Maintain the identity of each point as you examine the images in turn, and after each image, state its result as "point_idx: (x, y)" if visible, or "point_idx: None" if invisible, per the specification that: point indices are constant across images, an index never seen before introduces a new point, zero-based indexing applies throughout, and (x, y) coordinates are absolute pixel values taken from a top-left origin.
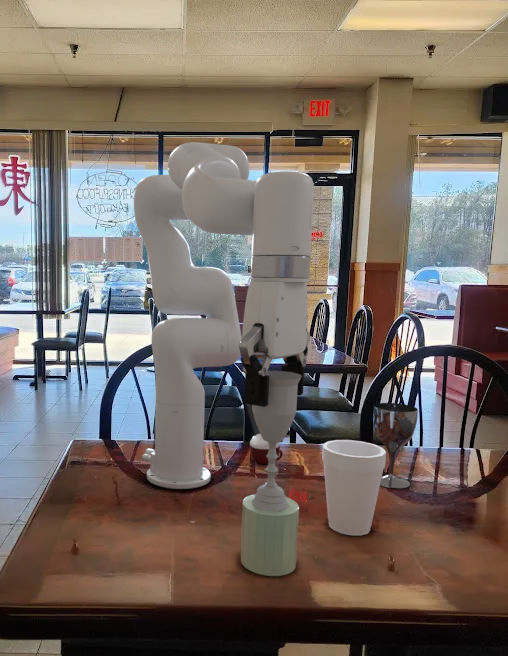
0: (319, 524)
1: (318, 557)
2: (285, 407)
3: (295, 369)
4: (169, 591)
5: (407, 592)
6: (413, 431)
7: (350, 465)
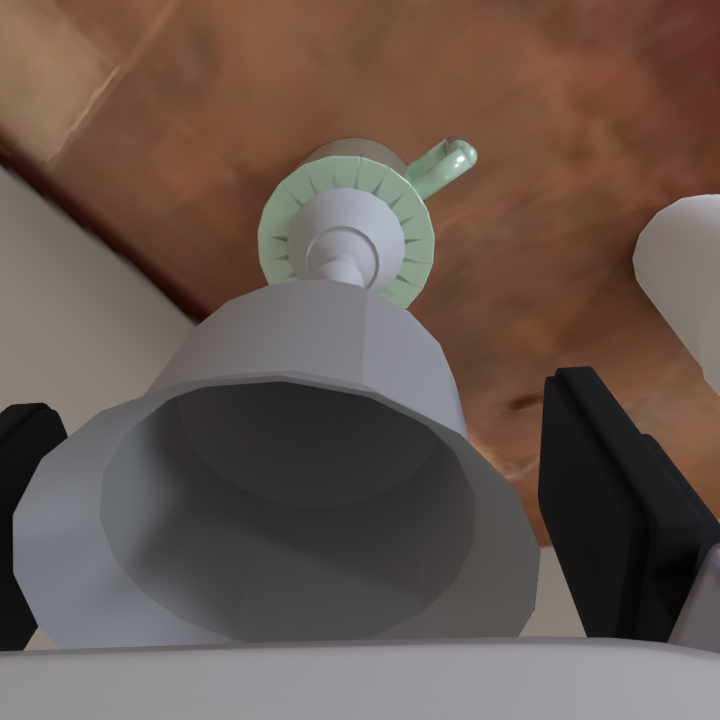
0: (658, 182)
1: (463, 279)
2: (248, 534)
3: (606, 632)
4: (69, 129)
5: None
6: None
7: (712, 369)
